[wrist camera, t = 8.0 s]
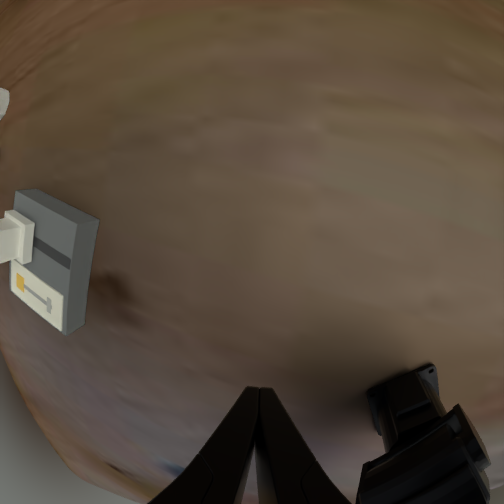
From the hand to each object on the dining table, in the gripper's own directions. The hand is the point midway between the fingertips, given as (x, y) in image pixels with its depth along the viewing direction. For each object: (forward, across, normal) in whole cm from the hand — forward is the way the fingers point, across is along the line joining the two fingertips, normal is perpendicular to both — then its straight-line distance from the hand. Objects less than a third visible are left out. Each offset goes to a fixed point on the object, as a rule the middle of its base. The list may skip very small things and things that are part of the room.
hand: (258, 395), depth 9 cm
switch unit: (+16, +20, +2) cm, 26 cm away
